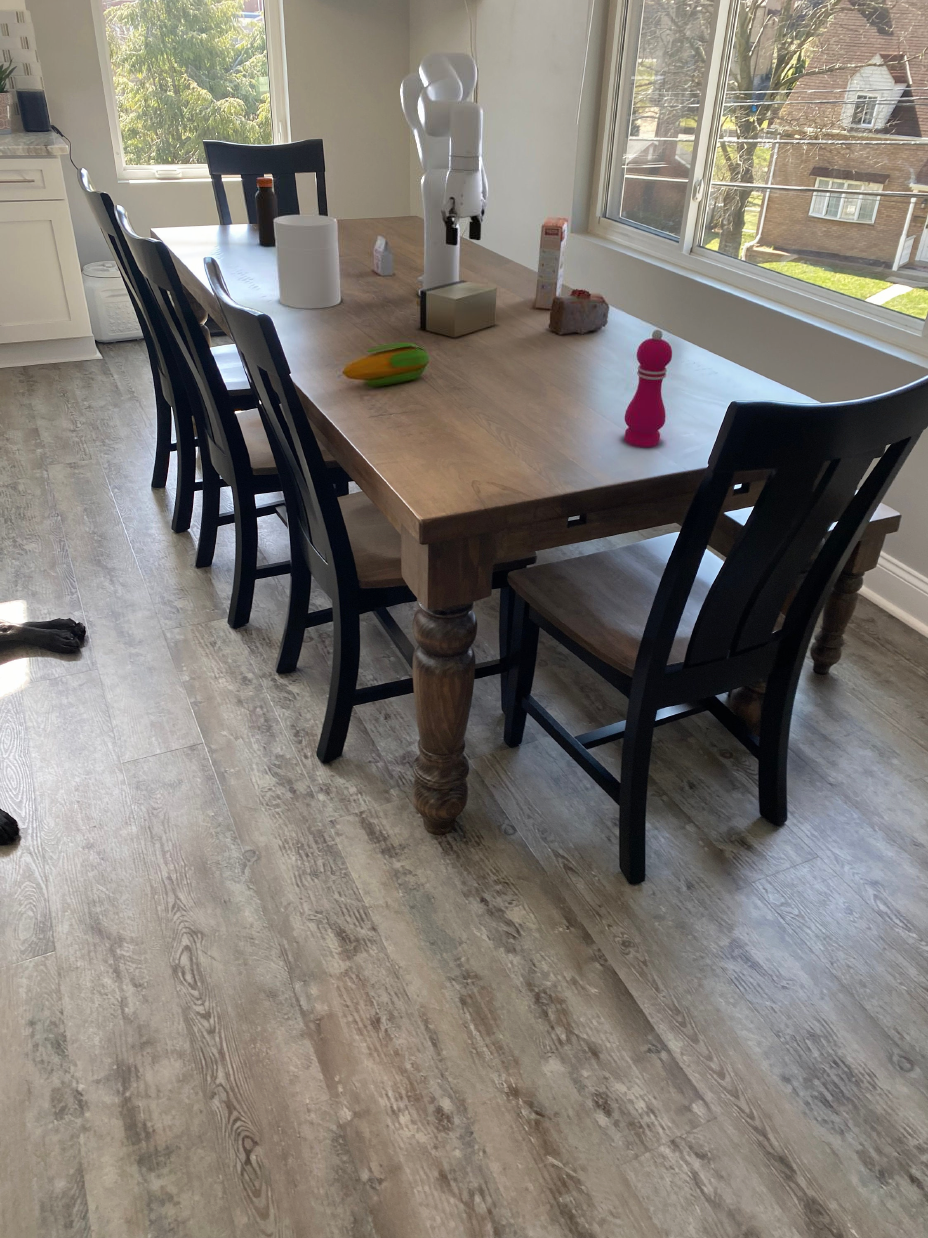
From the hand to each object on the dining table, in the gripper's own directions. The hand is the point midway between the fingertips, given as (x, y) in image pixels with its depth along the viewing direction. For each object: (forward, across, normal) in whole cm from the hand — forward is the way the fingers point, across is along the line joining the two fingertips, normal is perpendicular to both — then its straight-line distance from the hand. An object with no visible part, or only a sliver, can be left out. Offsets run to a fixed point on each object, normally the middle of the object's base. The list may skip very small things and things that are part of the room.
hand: (463, 241), depth 218 cm
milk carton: (+18, -25, -47) cm, 56 cm away
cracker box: (+18, -28, +9) cm, 35 cm away
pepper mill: (+19, +46, +74) cm, 89 cm away
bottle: (+17, -31, -101) cm, 107 cm away
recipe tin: (+18, +8, +2) cm, 20 cm away
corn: (+19, +51, +18) cm, 57 cm away
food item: (+18, -10, +28) cm, 35 cm away
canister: (+18, +14, -40) cm, 46 cm away
